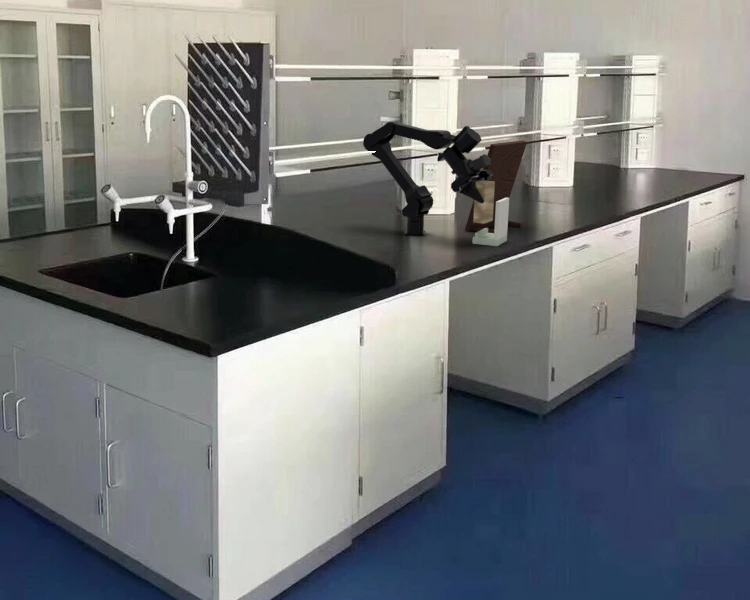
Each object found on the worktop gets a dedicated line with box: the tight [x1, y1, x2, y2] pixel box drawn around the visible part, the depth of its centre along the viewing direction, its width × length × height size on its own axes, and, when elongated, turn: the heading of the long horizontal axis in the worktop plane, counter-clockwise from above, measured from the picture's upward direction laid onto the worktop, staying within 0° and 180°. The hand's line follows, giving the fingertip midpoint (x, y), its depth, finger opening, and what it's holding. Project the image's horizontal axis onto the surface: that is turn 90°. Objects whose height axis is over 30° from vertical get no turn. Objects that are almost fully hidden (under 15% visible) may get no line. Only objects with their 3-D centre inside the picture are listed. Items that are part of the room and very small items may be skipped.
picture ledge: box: [472, 197, 510, 247], centre depth 289 cm, size 8×10×14 cm
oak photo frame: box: [473, 181, 495, 224], centre depth 284 cm, size 4×6×12 cm, turn 146°
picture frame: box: [464, 139, 528, 233], centre depth 309 cm, size 21×11×30 cm, turn 141°
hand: (488, 201), depth 283 cm, fingers closed on oak photo frame, 6 cm apart
